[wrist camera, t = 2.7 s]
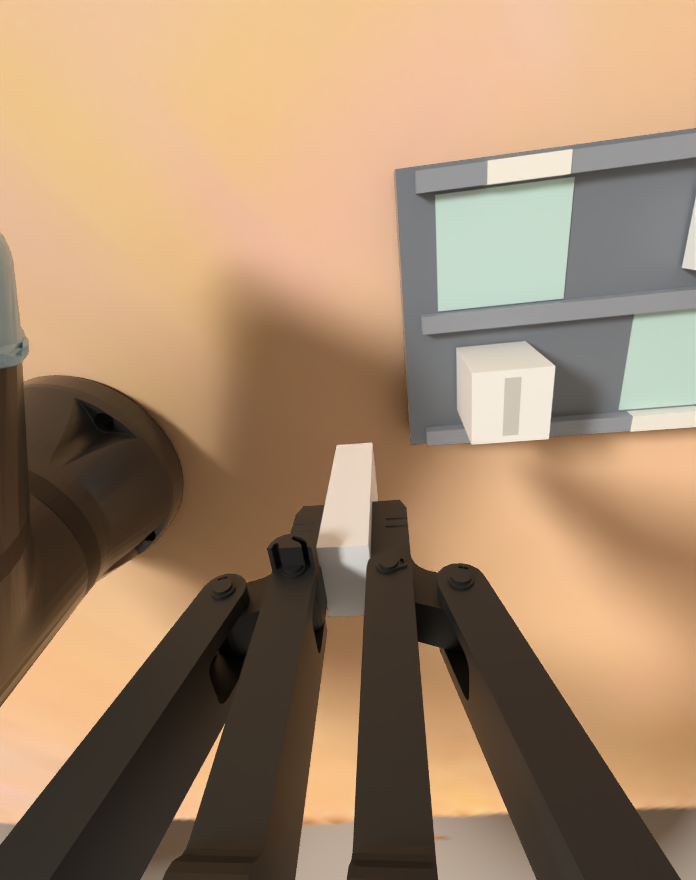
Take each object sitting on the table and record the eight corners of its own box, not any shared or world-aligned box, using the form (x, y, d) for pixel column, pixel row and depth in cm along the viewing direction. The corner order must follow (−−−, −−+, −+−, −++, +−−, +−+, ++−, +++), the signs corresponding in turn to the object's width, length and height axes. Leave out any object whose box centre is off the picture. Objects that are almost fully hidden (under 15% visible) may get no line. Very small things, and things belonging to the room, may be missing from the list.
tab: (456, 409, 29) (471, 444, 24) (456, 347, 27) (472, 373, 22) (521, 404, 28) (548, 439, 24) (525, 341, 26) (555, 366, 22)
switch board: (409, 432, 32) (412, 451, 29) (393, 172, 25) (395, 167, 22) (744, 406, 30) (778, 424, 27) (829, 113, 23) (886, 100, 20)
